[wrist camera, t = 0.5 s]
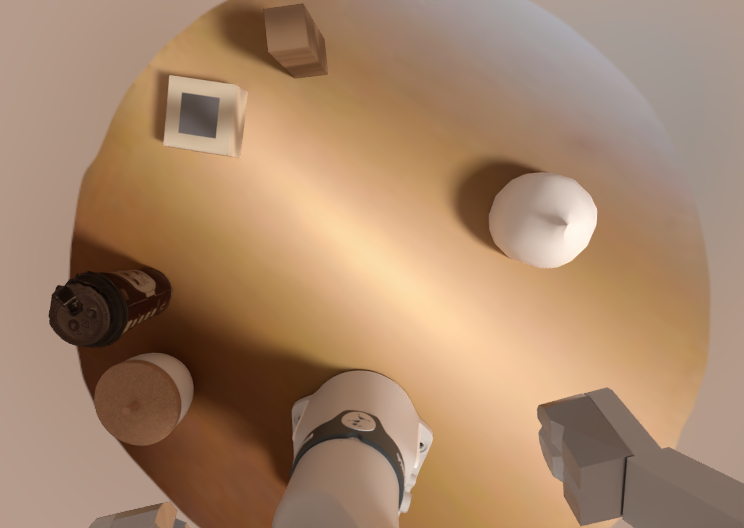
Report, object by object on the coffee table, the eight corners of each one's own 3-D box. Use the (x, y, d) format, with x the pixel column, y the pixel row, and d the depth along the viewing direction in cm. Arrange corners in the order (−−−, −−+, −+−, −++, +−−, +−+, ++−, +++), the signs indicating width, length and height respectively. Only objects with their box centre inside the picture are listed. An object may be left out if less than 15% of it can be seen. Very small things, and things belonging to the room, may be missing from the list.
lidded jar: (118, 365, 63) (66, 394, 53) (178, 327, 61) (135, 351, 52) (161, 429, 63) (117, 468, 54) (222, 394, 62) (187, 428, 52)
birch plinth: (241, 158, 57) (228, 155, 53) (180, 148, 58) (163, 145, 54) (248, 92, 56) (235, 84, 52) (186, 83, 56) (169, 75, 52)
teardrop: (548, 281, 55) (584, 304, 43) (470, 235, 55) (484, 244, 43) (602, 202, 53) (655, 204, 41) (521, 154, 53) (550, 142, 42)
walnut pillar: (327, 74, 54) (307, 46, 44) (295, 78, 55) (268, 52, 45) (324, 39, 54) (303, 3, 44) (291, 43, 54) (263, 9, 44)
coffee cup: (121, 254, 60) (41, 269, 47) (181, 261, 59) (116, 278, 47) (120, 317, 61) (42, 348, 49) (178, 325, 61) (114, 359, 48)
